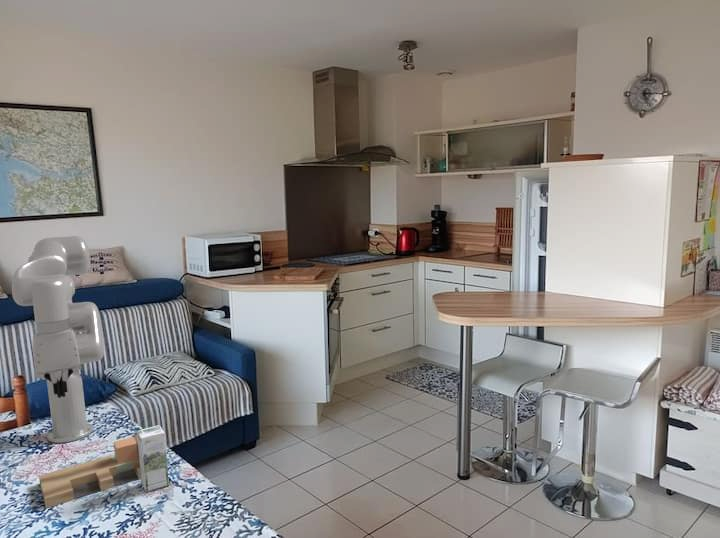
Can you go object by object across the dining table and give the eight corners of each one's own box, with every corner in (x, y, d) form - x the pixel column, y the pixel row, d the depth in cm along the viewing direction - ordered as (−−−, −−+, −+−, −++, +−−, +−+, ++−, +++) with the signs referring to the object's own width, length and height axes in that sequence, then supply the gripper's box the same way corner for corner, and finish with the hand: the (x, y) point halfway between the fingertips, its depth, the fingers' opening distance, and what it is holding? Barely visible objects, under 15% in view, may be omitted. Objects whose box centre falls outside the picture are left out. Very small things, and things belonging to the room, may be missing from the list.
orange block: (115, 457, 147) (113, 441, 146) (134, 452, 149) (133, 436, 149) (118, 464, 143) (116, 448, 142) (138, 459, 145) (136, 443, 145)
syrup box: (164, 476, 140) (159, 423, 138) (169, 486, 135) (164, 431, 133) (141, 483, 137) (135, 429, 135) (146, 493, 132) (140, 437, 130)
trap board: (40, 484, 139) (37, 460, 138) (137, 456, 153) (135, 434, 152) (45, 508, 127) (42, 482, 127) (150, 475, 141) (148, 451, 140)
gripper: (83, 320, 145) (90, 385, 147) (17, 329, 137) (26, 399, 139) (87, 324, 139) (95, 392, 141) (19, 334, 130) (28, 407, 133)
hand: (61, 395), depth 140 cm, fingers closed
